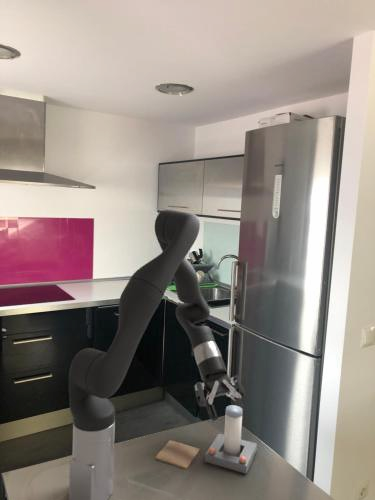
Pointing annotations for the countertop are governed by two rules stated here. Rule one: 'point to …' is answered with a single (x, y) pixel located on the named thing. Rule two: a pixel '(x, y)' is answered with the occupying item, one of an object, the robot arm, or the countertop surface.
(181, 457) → the pad
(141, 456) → the countertop surface
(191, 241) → the robot arm
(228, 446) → the ball
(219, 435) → the block
